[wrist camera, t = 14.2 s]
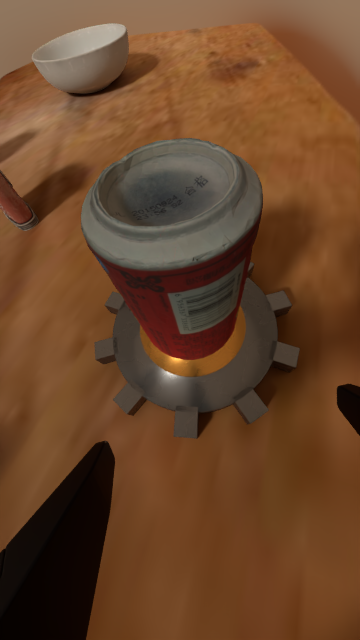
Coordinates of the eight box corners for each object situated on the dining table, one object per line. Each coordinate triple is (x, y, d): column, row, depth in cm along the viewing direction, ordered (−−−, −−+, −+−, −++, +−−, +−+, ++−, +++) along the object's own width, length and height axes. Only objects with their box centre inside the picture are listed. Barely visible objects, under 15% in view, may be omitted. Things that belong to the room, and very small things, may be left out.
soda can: (252, 329, 18) (319, 166, 7) (184, 386, 16) (131, 296, 5) (196, 278, 21) (180, 108, 10) (135, 322, 19) (37, 183, 8)
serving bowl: (99, 64, 59) (86, 22, 53) (154, 73, 51) (146, 24, 45) (35, 98, 53) (13, 55, 47) (86, 113, 45) (67, 64, 39)
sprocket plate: (307, 282, 21) (315, 270, 19) (268, 479, 15) (274, 484, 13) (149, 247, 26) (145, 235, 24) (67, 384, 19) (55, 380, 18)
